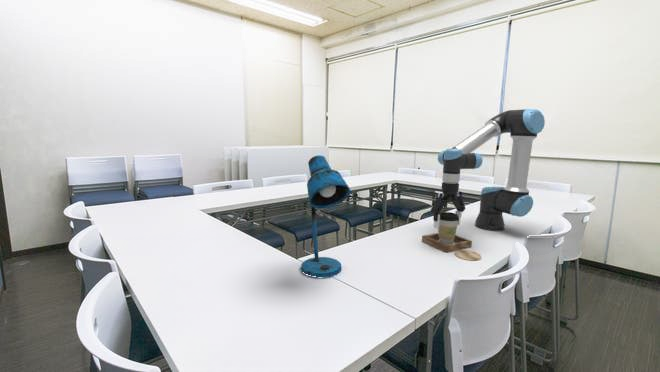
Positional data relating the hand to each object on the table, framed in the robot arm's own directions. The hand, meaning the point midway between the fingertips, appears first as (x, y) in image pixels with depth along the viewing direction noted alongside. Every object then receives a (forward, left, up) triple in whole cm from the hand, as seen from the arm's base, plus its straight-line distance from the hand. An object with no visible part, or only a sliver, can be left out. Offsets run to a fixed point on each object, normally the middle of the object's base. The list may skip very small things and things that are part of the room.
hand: (446, 226), depth 153 cm
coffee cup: (0, 0, -10) cm, 10 cm away
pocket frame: (0, 0, -9) cm, 9 cm away
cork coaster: (+2, +15, -9) cm, 17 cm away
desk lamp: (+66, +1, -10) cm, 66 cm away
